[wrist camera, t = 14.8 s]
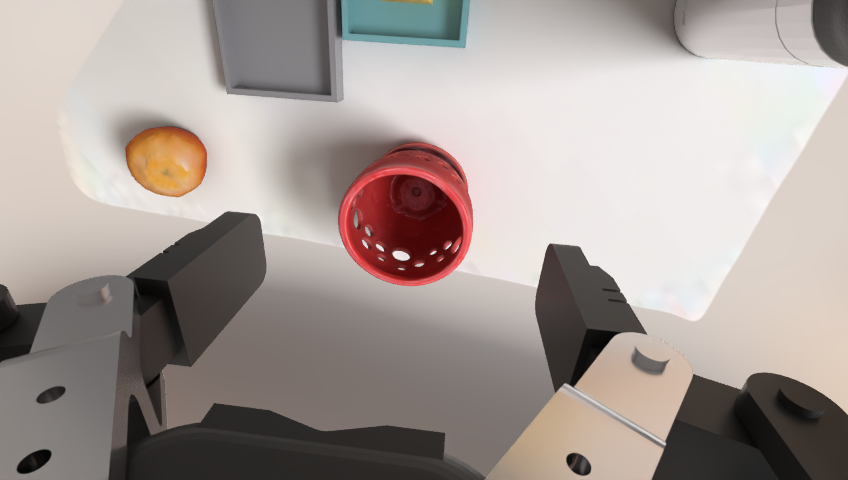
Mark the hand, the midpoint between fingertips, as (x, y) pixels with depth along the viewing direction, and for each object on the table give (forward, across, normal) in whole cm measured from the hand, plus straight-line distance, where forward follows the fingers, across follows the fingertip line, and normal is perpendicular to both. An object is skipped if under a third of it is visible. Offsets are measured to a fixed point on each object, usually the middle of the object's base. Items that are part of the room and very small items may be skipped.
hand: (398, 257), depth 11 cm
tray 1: (+36, +18, -5) cm, 41 cm away
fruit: (+36, +32, +9) cm, 49 cm away
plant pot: (+36, +3, +11) cm, 38 cm away
